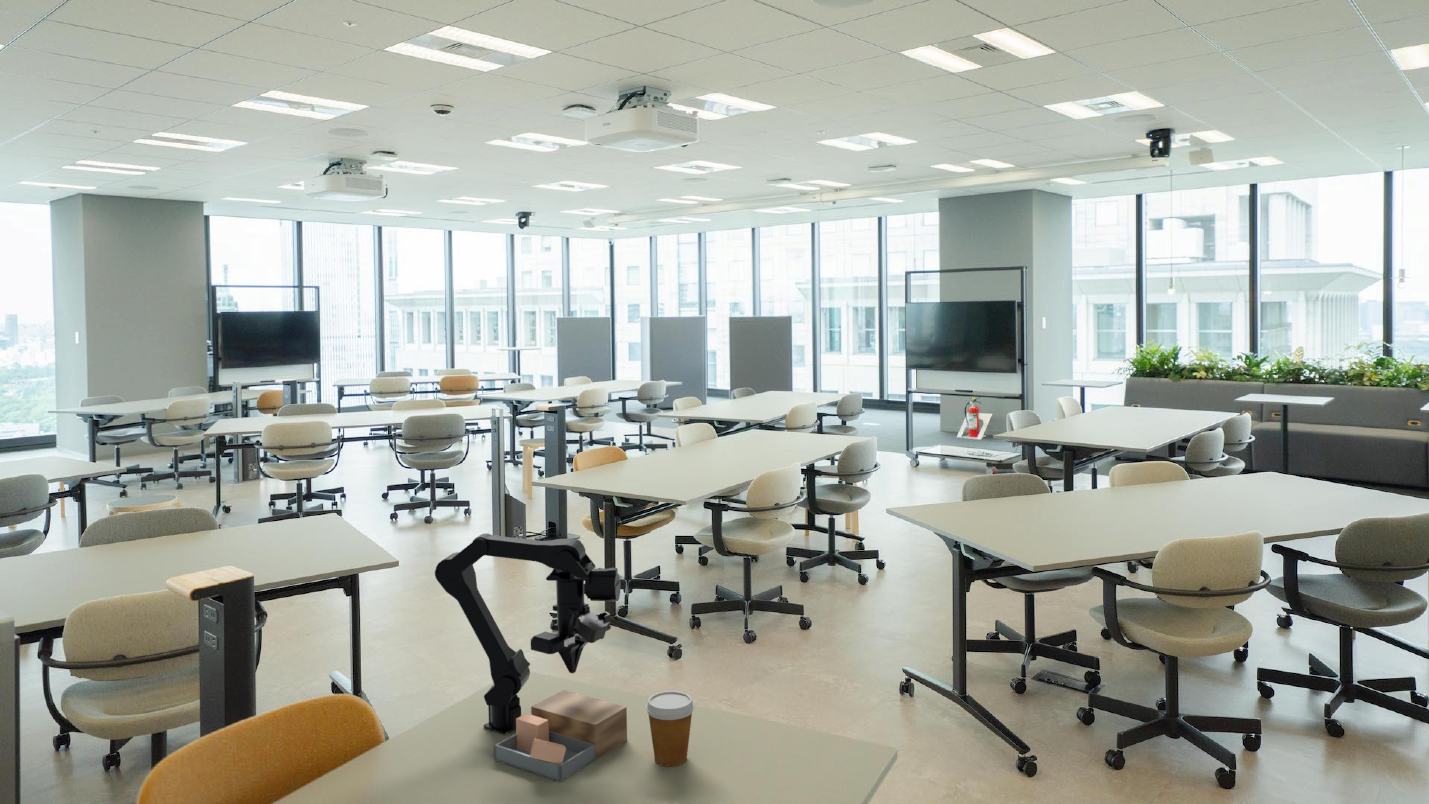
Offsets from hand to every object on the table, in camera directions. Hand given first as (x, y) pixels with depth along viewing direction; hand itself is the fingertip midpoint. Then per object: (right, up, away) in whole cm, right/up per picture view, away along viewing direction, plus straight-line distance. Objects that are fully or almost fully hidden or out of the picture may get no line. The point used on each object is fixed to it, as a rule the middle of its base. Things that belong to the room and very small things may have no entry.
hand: (572, 672), depth 191 cm
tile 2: (-2, -9, -17) cm, 19 cm away
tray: (-3, -13, -13) cm, 19 cm away
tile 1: (-6, -9, -8) cm, 14 cm away
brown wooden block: (+2, -13, -4) cm, 13 cm away
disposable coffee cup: (+21, -13, -13) cm, 28 cm away
